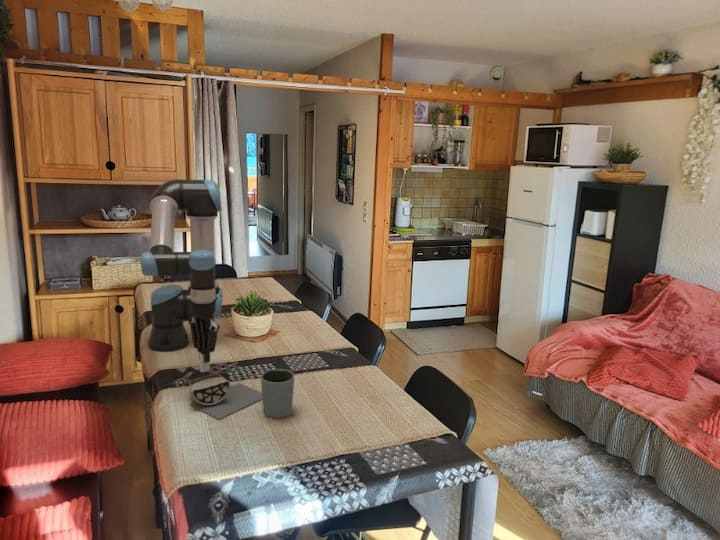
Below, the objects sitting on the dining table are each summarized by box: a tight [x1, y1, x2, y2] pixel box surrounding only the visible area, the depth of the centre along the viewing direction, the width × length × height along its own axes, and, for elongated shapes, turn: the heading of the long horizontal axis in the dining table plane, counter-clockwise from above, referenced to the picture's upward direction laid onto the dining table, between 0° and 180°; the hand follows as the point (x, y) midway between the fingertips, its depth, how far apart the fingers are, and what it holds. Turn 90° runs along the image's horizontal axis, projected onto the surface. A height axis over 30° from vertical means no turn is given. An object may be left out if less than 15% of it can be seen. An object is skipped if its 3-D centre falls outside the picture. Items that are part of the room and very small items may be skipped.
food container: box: [188, 373, 231, 405], centre depth 168 cm, size 12×6×10 cm
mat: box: [188, 382, 263, 421], centre depth 169 cm, size 14×20×1 cm
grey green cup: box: [260, 368, 295, 420], centre depth 163 cm, size 10×10×12 cm
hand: (204, 370), depth 173 cm, fingers closed
